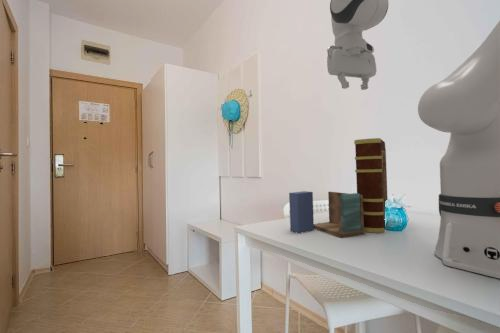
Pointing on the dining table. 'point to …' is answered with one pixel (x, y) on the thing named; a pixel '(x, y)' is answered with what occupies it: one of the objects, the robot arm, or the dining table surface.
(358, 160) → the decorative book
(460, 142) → the robot arm
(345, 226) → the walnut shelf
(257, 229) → the dining table surface
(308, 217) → the navy book
